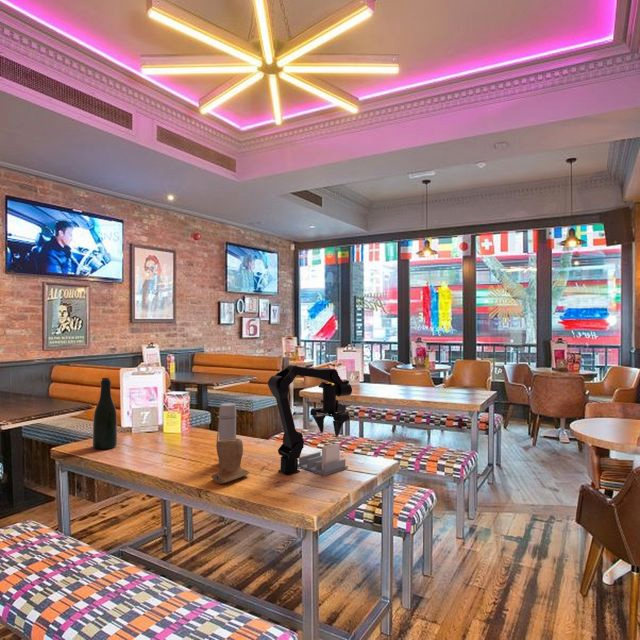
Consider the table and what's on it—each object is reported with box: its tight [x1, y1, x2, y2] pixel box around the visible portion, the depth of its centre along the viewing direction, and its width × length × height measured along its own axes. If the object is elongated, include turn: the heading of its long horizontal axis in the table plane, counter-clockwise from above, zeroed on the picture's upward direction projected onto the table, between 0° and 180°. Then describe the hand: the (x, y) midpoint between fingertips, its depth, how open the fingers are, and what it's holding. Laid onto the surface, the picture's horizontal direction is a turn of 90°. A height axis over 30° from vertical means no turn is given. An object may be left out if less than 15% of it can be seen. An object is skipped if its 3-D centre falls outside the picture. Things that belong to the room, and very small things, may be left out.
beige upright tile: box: [321, 443, 341, 470], centre depth 191 cm, size 8×2×9 cm, turn 136°
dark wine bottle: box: [92, 377, 118, 451], centre depth 221 cm, size 10×10×33 cm
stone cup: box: [210, 438, 250, 485], centre depth 179 cm, size 15×12×15 cm
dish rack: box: [298, 451, 349, 476], centre depth 194 cm, size 14×16×4 cm
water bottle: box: [215, 402, 237, 465], centre depth 198 cm, size 9×8×25 cm
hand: (329, 434), depth 199 cm, fingers open, 9 cm apart
